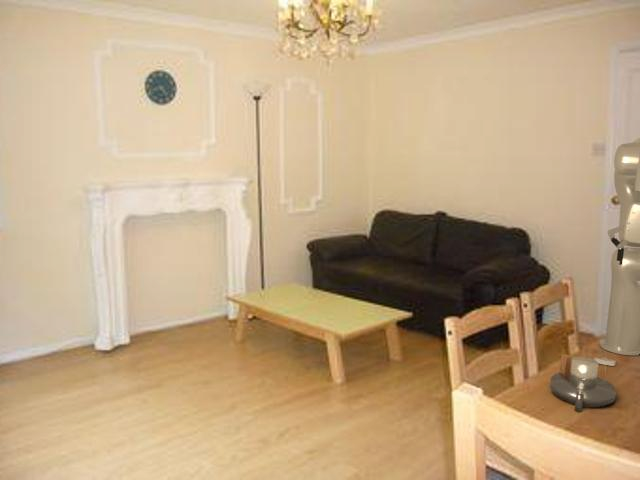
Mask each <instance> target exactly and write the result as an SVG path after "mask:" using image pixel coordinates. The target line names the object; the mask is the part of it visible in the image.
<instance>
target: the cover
mask: <svg viewBox="0 0 640 480" xmlns="http://www.w3.org/2000/svg"><path fill="white" fill-rule="evenodd" d="M598 370H599V364H598V362H597V361H595V360H594V358H589V357H584V356H583V357H582V356H575V357H573V358H572V359H571V368H570V372H571V375H570V384H571V385H573V386H575V387H577V388H581V389H594V388H596V381H597V377H598Z"/></svg>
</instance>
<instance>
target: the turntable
mask: <svg viewBox="0 0 640 480" xmlns="http://www.w3.org/2000/svg"><path fill="white" fill-rule="evenodd" d="M572 359H573V358H572V356H570V355H568V354H565V353H564V354H560V362H559V363H560V364H559V372H557V373H555V374H553V375H552V376H550V382H549V388H550V390H551V392H552V393H554V395H556V396H557V397H558V396H559V397H558V398H560V397H561V398H563V399H566V400H569V401H572V402H575V401H576V393H577V392H579V390H582V393H583V394H584V397H583V404H584V405H595V406H599V405H604V406H607V405H610V404H612V403H614V402H615V400H616V394H617V389H616V387H615V386H614V384H613V383H610V382H609V381H608V380H606V379H603V378H601V377H599V376H597V381H596V388H594V389H581V388H577V387H575V386H573V385H571V384H570V375H571V366H572ZM561 398H560V399H561ZM563 399H562V400H563Z"/></svg>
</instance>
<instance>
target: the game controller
mask: <svg viewBox="0 0 640 480" xmlns="http://www.w3.org/2000/svg"><path fill="white" fill-rule="evenodd" d="M593 360H595V361H597V362H598V365H599V364H600V365H603V366H604V371H605V372H604V376H606V375H607V374H606V370H607V369H606V368H607V366H611V367H615V366H616V363H617V361H616V360H614V359H612V358H609V359H608V357H607V358H606V356H604V357H603V356H601V358H600V357H598V356H597V357H595V356H594V357H593Z"/></svg>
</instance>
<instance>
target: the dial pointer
mask: <svg viewBox="0 0 640 480" xmlns="http://www.w3.org/2000/svg"><path fill="white" fill-rule="evenodd" d="M583 397H584V394H583V393H582V390H579V392H577V393H576V401H575V404H574V411H575V412H577V413H582V412H583V407H584V406H583Z"/></svg>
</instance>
